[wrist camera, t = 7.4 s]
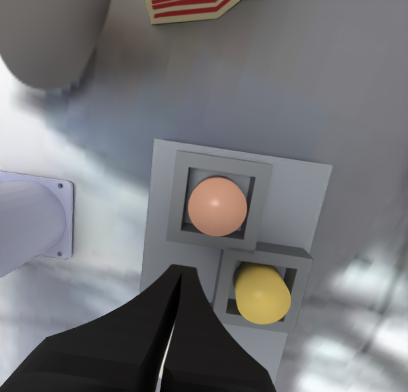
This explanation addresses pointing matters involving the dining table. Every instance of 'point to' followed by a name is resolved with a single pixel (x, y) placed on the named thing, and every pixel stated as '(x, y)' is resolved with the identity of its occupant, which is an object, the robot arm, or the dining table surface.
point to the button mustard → (261, 293)
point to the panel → (236, 232)
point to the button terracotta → (217, 206)
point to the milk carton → (186, 10)
